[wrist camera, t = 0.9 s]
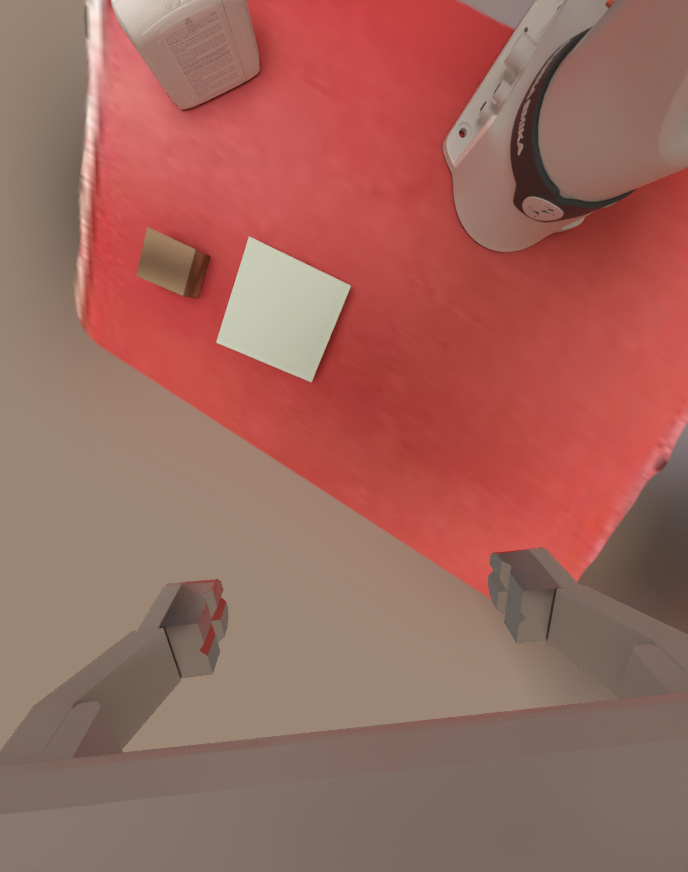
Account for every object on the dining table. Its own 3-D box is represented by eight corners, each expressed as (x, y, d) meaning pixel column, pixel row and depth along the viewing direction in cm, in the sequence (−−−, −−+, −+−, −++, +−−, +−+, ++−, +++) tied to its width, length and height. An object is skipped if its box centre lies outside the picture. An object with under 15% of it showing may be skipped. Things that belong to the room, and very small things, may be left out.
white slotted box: (248, 22, 34) (209, -126, 23) (268, 75, 36) (240, -40, 24) (157, 69, 35) (75, -50, 24) (180, 119, 37) (112, 29, 25)
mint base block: (256, 243, 41) (249, 236, 37) (348, 288, 43) (351, 285, 39) (225, 339, 44) (216, 342, 40) (312, 376, 46) (311, 382, 43)
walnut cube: (168, 236, 40) (147, 226, 36) (210, 256, 41) (195, 249, 36) (157, 279, 42) (136, 275, 37) (198, 297, 43) (182, 296, 38)
